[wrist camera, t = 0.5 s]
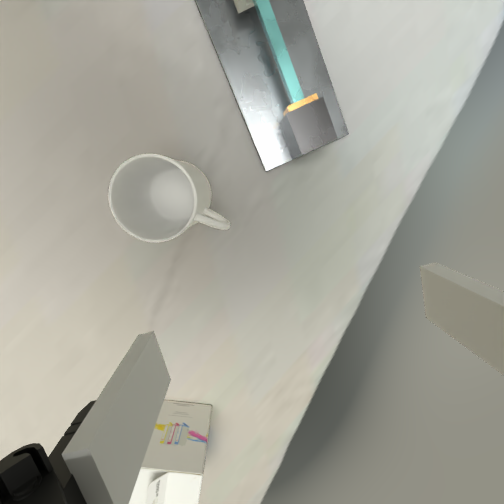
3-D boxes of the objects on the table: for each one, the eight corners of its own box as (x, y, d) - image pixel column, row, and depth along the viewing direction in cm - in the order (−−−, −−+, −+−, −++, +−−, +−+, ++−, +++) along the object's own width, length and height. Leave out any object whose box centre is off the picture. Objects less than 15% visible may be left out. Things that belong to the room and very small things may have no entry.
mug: (245, 196, 40) (247, 201, 28) (213, 251, 41) (202, 278, 30) (164, 146, 38) (130, 130, 27) (133, 206, 40) (88, 215, 28)
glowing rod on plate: (177, -43, 34) (160, -103, 27) (268, -88, 33) (276, -163, 26) (265, 171, 39) (271, 168, 32) (345, 135, 39) (369, 124, 32)
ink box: (206, 450, 48) (193, 549, 35) (152, 445, 48) (119, 544, 35) (212, 403, 47) (202, 489, 34) (156, 397, 46) (123, 482, 33)
